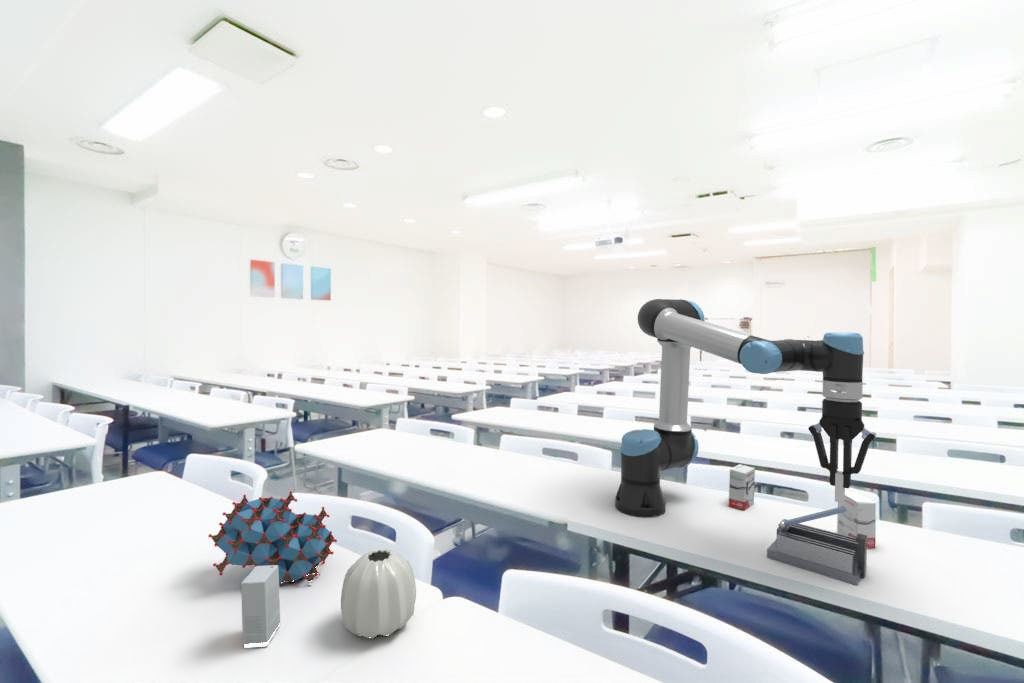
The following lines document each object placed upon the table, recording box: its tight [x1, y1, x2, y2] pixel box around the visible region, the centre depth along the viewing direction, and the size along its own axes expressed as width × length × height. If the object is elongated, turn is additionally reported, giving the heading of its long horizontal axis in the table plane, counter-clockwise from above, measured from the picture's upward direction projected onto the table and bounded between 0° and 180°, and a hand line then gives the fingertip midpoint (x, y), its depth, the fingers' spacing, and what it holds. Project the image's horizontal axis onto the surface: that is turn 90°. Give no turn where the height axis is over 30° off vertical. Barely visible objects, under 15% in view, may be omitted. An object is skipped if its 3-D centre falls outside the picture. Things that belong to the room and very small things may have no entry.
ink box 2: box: [836, 490, 877, 549], centre depth 124 cm, size 9×5×12 cm, turn 175°
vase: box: [340, 548, 417, 639], centre depth 90 cm, size 14×14×13 cm
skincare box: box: [240, 565, 281, 645], centre depth 86 cm, size 6×4×12 cm
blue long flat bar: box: [777, 506, 847, 529], centre depth 114 cm, size 15×4×1 cm, turn 45°
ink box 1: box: [728, 464, 756, 511], centre depth 148 cm, size 8×5×12 cm, turn 134°
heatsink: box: [766, 523, 868, 586], centre depth 113 cm, size 19×12×9 cm, turn 46°
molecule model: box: [208, 490, 338, 583], centre depth 107 cm, size 16×14×25 cm
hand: (839, 500), depth 110 cm, fingers closed
